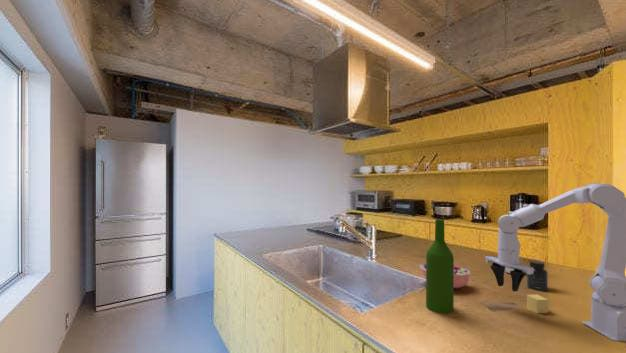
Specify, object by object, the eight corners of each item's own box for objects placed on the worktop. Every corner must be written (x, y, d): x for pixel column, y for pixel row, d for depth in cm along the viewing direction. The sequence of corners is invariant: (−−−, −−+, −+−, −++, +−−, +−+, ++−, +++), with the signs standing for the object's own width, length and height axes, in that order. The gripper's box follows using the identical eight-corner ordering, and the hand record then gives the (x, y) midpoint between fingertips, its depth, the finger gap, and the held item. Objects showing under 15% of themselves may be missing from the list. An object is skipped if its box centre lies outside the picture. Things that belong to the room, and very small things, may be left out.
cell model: (475, 299, 106) (475, 270, 106) (420, 292, 112) (420, 264, 112) (466, 283, 122) (466, 258, 122) (418, 277, 128) (418, 253, 128)
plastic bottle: (501, 272, 135) (501, 232, 135) (509, 270, 138) (509, 231, 138) (515, 276, 130) (515, 235, 130) (523, 274, 132) (523, 233, 132)
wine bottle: (439, 302, 103) (439, 217, 103) (459, 314, 94) (459, 221, 94) (420, 306, 99) (420, 218, 99) (440, 318, 91) (440, 222, 91)
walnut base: (538, 323, 88) (538, 319, 88) (500, 322, 89) (500, 318, 89) (514, 306, 100) (514, 302, 100) (480, 304, 101) (480, 301, 101)
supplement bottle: (526, 285, 119) (526, 258, 119) (547, 289, 115) (547, 261, 115) (526, 290, 114) (526, 262, 114) (548, 295, 109) (548, 265, 109)
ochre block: (547, 317, 92) (547, 299, 92) (537, 317, 92) (537, 299, 92) (537, 311, 96) (537, 294, 96) (526, 311, 96) (526, 294, 96)
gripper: (538, 253, 90) (538, 294, 90) (493, 243, 103) (493, 279, 103) (526, 256, 87) (526, 298, 87) (481, 245, 100) (481, 282, 100)
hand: (507, 288), depth 95 cm, fingers open, 4 cm apart
